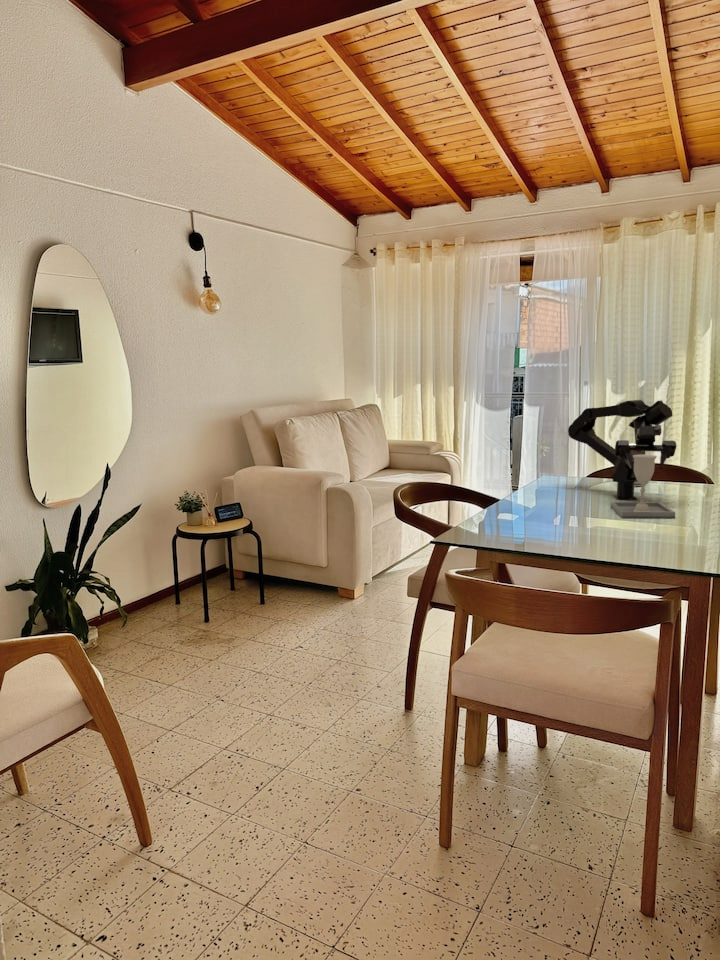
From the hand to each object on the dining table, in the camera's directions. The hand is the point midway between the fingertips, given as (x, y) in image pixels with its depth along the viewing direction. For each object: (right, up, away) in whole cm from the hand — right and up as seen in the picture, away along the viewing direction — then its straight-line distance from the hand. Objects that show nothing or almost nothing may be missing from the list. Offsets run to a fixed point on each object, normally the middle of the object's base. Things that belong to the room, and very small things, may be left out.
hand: (646, 468), depth 225 cm
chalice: (-3, -14, -4) cm, 15 cm away
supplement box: (+11, -6, +41) cm, 43 cm away
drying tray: (-3, -15, -4) cm, 15 cm away
